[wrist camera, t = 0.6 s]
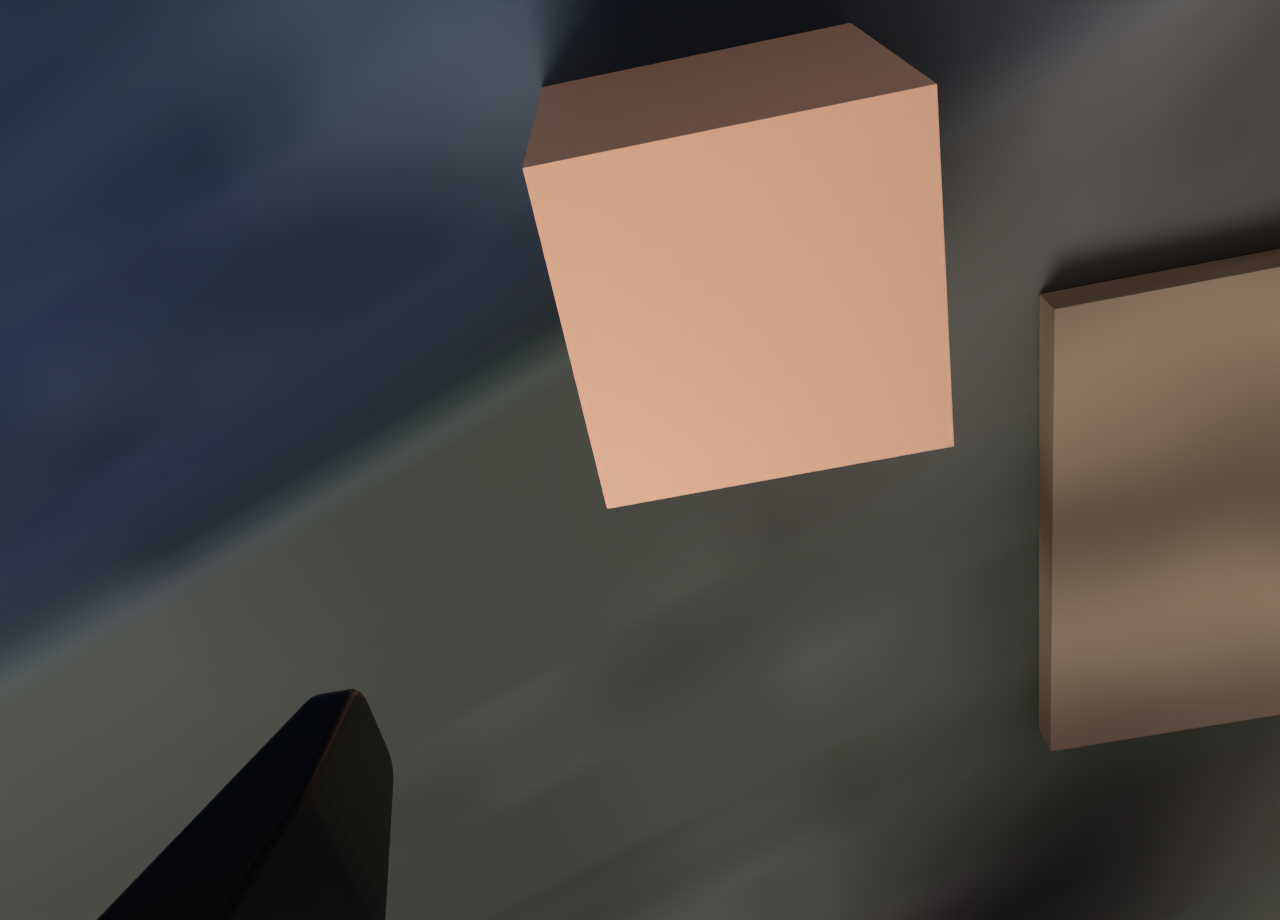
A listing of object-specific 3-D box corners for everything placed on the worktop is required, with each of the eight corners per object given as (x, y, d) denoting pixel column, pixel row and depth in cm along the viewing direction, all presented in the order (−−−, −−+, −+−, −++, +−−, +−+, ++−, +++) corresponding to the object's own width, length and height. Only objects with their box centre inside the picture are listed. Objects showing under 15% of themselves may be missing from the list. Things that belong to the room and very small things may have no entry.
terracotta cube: (874, 311, 21) (954, 445, 16) (605, 361, 21) (607, 509, 17) (849, 22, 18) (937, 83, 14) (542, 86, 19) (522, 167, 14)
